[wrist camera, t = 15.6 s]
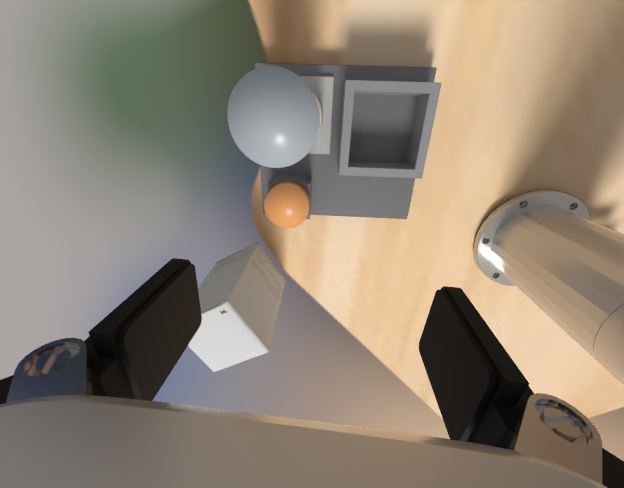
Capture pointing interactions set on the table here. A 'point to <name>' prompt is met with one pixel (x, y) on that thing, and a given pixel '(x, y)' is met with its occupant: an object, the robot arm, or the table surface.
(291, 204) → the glossy orange sphere
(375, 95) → the grey compartment tray
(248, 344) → the supplement box
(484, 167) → the table surface
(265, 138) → the cylinder
